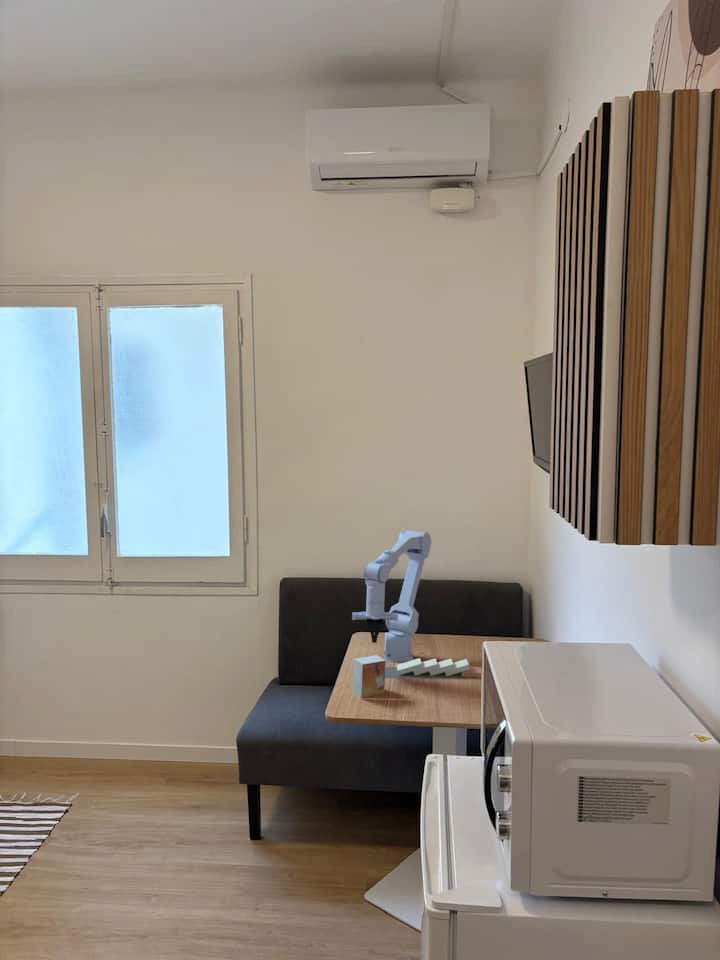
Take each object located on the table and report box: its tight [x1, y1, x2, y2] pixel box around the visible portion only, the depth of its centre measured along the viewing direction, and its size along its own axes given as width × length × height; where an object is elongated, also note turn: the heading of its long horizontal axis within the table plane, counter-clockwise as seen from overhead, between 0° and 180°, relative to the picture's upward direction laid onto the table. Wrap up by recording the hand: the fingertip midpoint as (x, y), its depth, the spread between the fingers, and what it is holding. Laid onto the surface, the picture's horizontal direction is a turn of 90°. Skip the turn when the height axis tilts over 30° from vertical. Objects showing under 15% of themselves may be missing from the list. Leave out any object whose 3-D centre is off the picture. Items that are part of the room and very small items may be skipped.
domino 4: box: [445, 658, 471, 676], centre depth 220 cm, size 2×5×8 cm
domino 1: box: [396, 657, 423, 675], centre depth 220 cm, size 2×5×8 cm
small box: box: [352, 654, 386, 699], centre depth 203 cm, size 8×6×10 cm
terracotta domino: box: [460, 666, 482, 678], centre depth 220 cm, size 2×5×8 cm
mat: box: [385, 666, 466, 680], centre depth 220 cm, size 27×9×1 cm, turn 91°
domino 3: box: [429, 658, 455, 676], centre depth 220 cm, size 2×5×8 cm
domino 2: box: [413, 657, 439, 675], centre depth 220 cm, size 2×5×8 cm
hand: (374, 641), depth 219 cm, fingers closed
